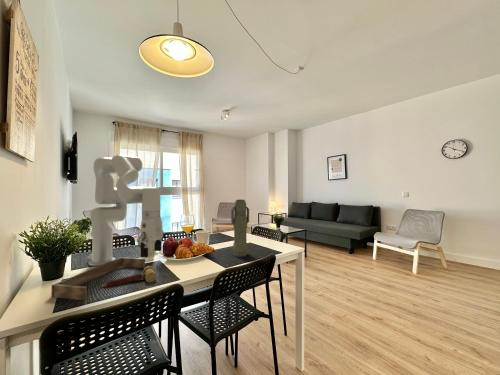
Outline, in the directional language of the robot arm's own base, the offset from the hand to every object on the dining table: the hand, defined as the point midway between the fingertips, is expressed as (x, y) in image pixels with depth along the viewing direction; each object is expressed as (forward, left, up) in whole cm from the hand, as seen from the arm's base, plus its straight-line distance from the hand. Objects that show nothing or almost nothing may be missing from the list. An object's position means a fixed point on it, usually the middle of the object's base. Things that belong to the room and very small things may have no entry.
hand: (151, 253), depth 96 cm
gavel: (-11, 0, -14) cm, 17 cm away
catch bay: (-22, 0, -13) cm, 26 cm away
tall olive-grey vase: (+30, +48, -13) cm, 58 cm away
